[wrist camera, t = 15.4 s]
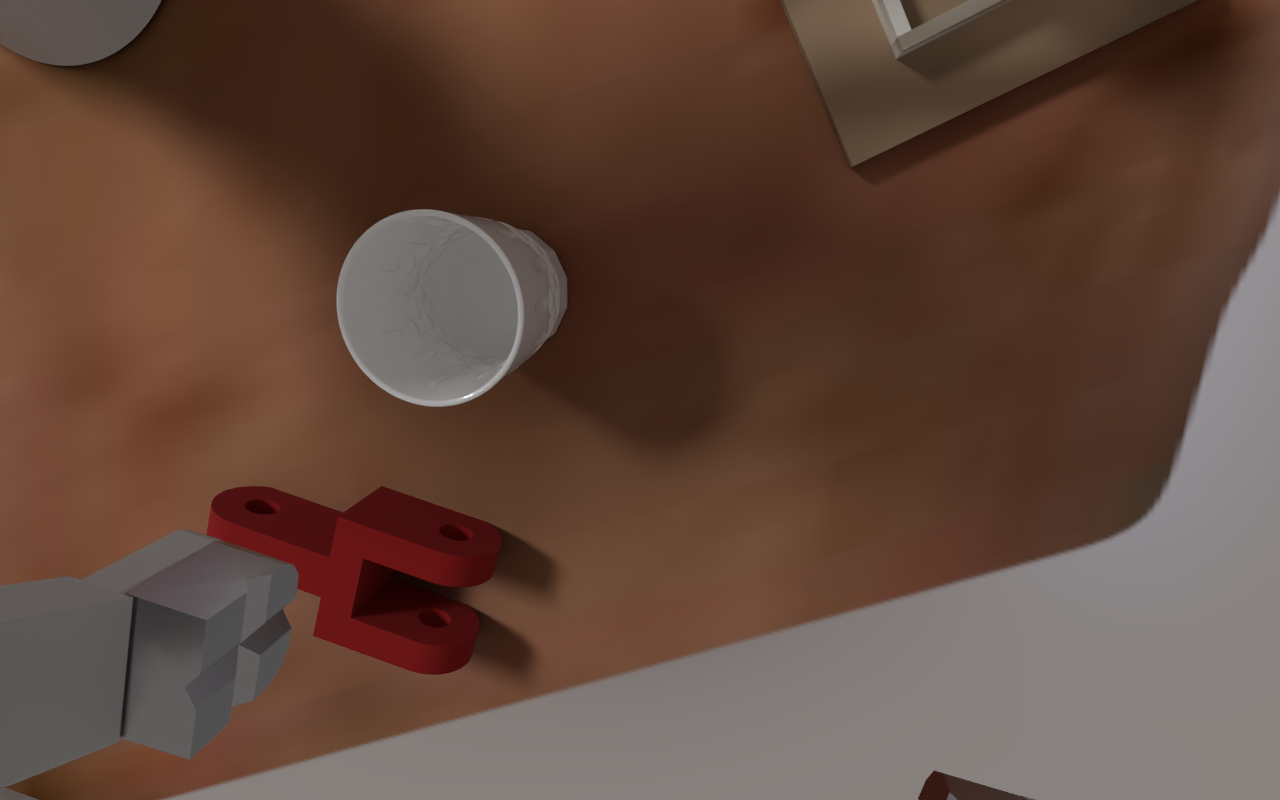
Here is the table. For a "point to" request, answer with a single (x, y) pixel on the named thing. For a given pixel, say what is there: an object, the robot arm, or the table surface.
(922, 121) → the peg board
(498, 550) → the mechanical linkage
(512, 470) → the table surface
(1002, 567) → the table surface
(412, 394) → the white cup
